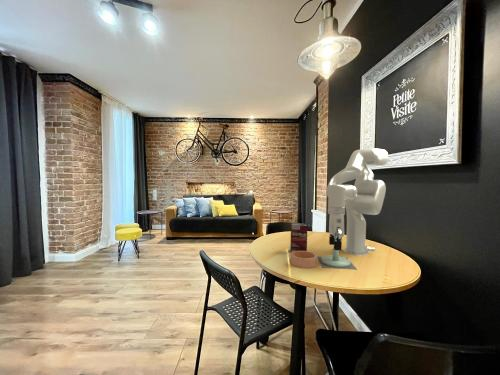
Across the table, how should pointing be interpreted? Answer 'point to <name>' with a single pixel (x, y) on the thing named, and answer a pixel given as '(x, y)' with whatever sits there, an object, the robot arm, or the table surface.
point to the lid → (335, 260)
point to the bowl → (304, 259)
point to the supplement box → (298, 237)
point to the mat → (336, 267)
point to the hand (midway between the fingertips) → (334, 247)
